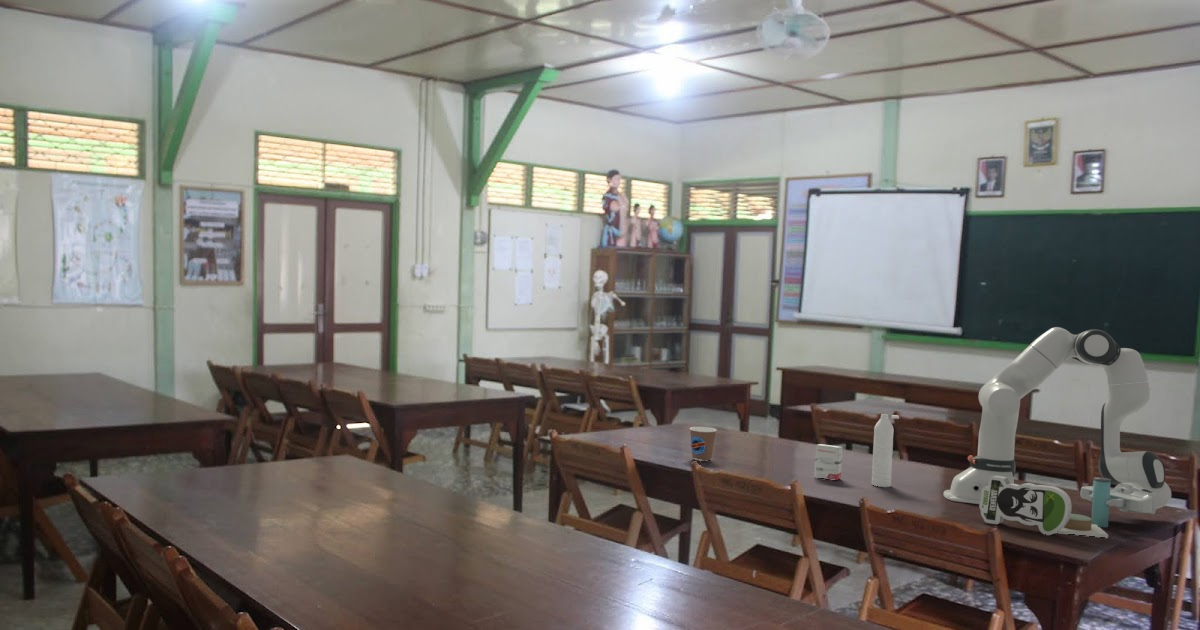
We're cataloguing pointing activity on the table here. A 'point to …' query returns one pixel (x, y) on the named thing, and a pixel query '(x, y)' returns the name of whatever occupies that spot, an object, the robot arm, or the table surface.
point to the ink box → (828, 461)
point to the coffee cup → (702, 442)
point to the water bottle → (883, 451)
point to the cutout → (1025, 504)
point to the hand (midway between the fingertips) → (1099, 500)
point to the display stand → (1082, 527)
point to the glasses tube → (1100, 501)
